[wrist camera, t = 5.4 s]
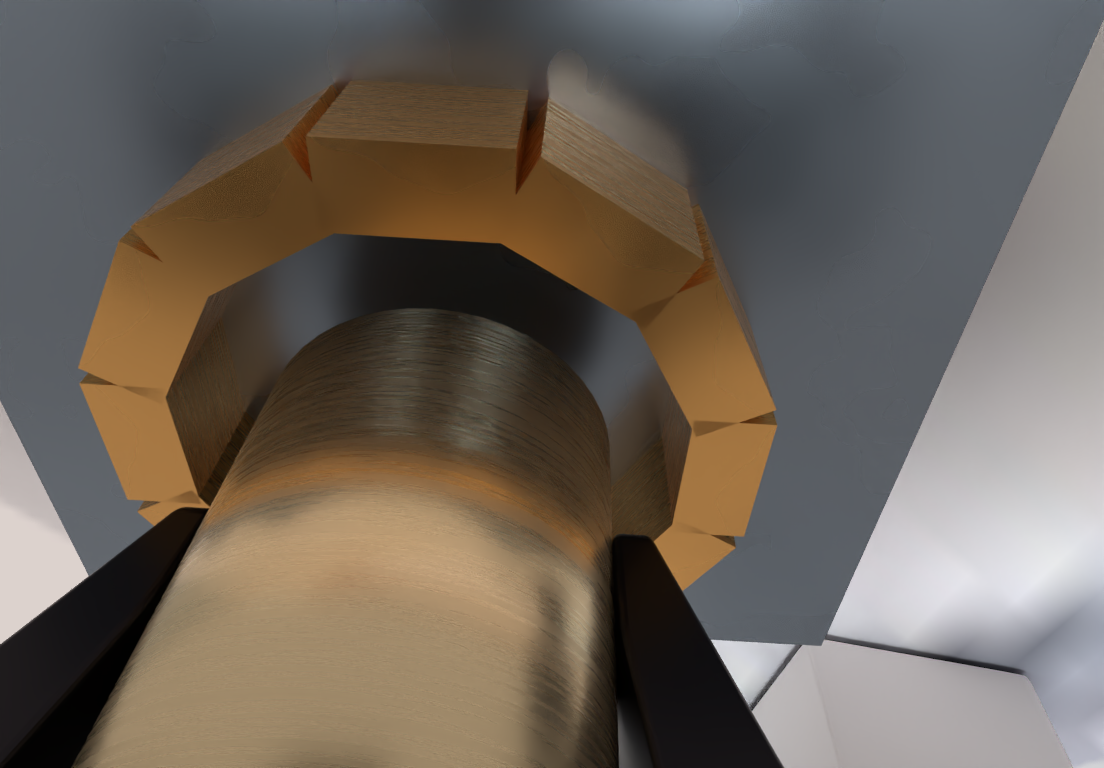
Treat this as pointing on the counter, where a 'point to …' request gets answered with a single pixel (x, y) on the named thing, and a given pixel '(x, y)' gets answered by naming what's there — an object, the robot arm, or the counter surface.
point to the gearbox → (524, 239)
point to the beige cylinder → (392, 570)
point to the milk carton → (903, 713)
